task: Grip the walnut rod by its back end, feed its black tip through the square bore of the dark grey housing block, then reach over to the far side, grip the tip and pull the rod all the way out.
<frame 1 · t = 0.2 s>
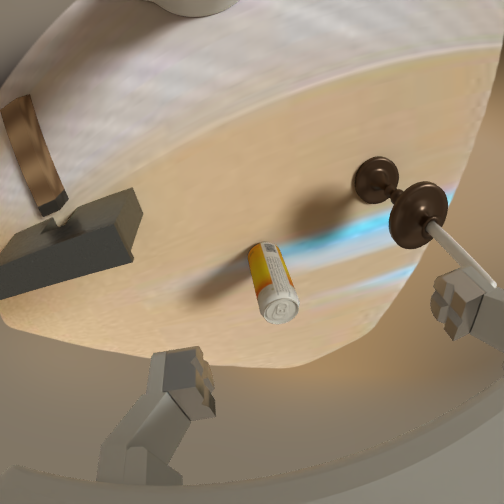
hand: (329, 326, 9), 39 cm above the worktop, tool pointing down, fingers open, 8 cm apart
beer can: (263, 253, 55), on the worktop
housing: (70, 224, 45), on the worktop
candlestick: (375, 179, 50), on the worktop
rod: (38, 151, 37), on the worktop
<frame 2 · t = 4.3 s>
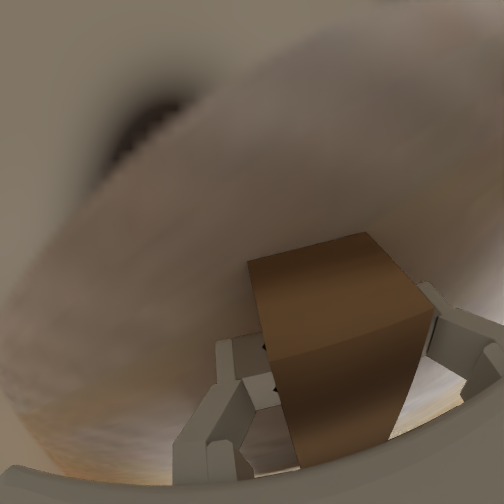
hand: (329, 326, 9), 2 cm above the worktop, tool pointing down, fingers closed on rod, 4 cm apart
rod: (323, 403, 14), on the worktop, touching gripper
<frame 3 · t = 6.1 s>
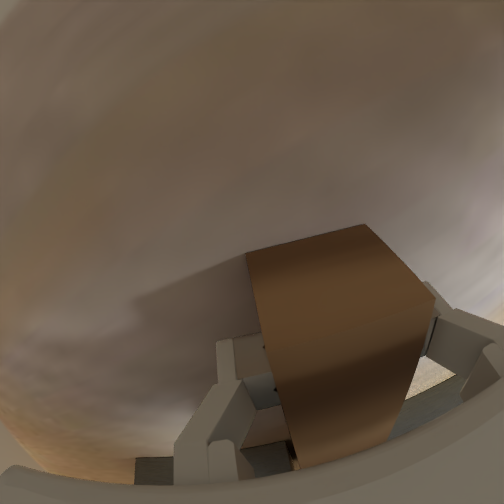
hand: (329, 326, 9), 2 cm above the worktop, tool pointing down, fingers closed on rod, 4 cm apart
housing: (329, 441, 18), on the worktop
rod: (323, 400, 14), on the worktop, touching gripper
when the fingers open (2 cm above the worktop, at t = 8.2 s): rod stays where it is, on the worktop.
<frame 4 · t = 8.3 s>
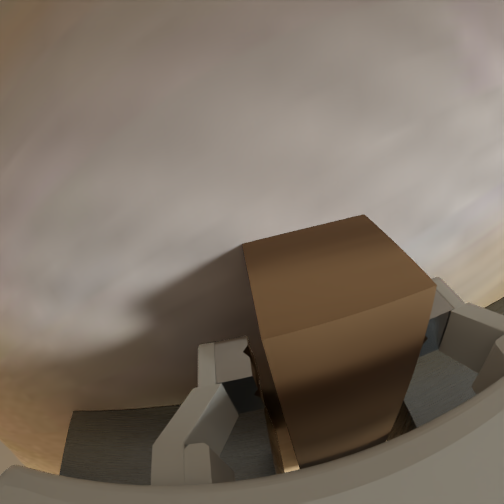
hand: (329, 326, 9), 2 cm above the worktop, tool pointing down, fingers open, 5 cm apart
housing: (323, 399, 14), on the worktop
rod: (322, 397, 14), on the worktop
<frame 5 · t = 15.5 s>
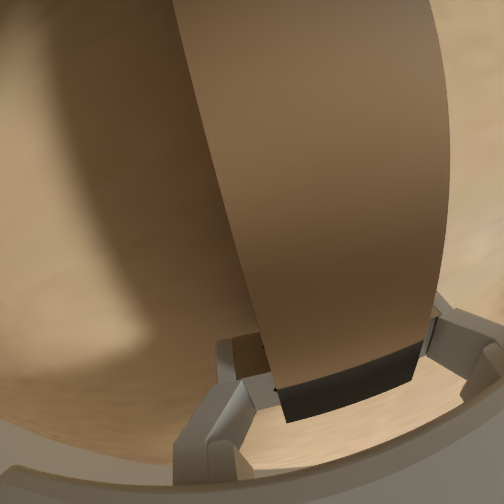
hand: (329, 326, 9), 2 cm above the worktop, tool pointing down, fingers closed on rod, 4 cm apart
rod: (264, 23, 6), on the worktop, touching gripper
when the fingers open (2 cm above the worktop, at t = 16.9 s): rod stays where it is, on the worktop.
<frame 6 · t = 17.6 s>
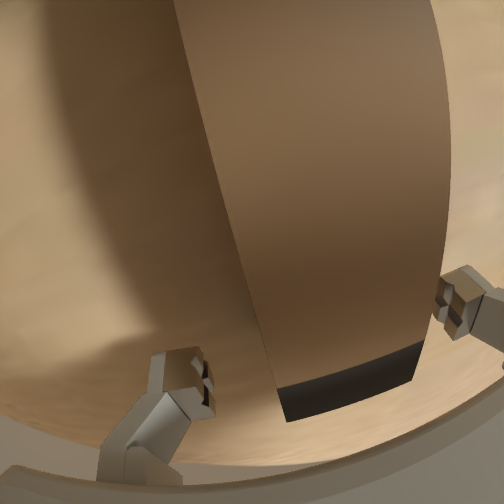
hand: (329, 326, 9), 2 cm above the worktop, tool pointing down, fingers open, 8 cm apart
rod: (266, 22, 6), on the worktop
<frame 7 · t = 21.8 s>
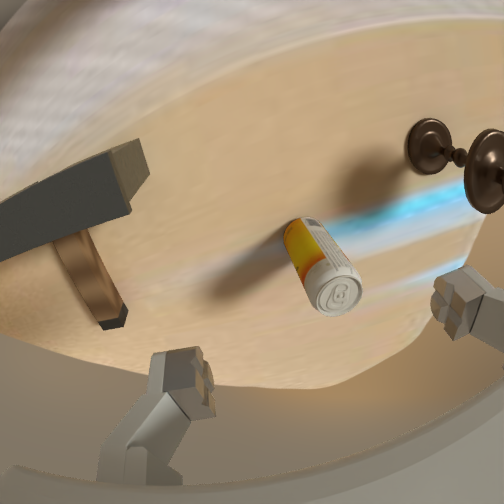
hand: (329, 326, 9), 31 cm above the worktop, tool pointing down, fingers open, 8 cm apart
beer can: (302, 233, 43), on the worktop
housing: (58, 189, 34), on the worktop
candlestick: (428, 145, 38), on the worktop
rod: (91, 263, 41), on the worktop
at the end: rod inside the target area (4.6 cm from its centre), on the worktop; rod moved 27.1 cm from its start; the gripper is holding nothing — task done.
